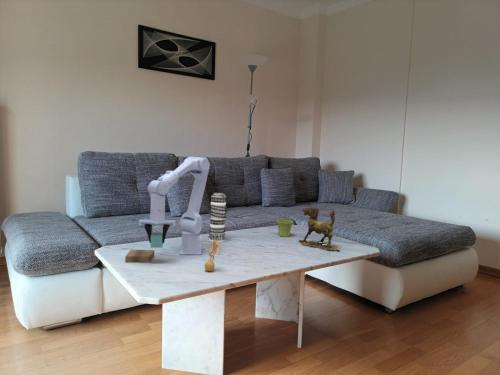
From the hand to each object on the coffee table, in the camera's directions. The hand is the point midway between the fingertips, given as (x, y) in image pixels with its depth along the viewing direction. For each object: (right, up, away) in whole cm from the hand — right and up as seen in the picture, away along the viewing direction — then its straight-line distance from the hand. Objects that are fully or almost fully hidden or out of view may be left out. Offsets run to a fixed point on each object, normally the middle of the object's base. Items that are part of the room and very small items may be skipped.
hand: (157, 242), depth 149 cm
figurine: (+75, -8, +40) cm, 85 cm away
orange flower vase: (+23, -10, -6) cm, 26 cm away
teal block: (0, -2, 0) cm, 2 cm away
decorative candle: (+21, -6, +43) cm, 48 cm away
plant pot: (+58, -6, +60) cm, 84 cm away
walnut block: (-8, -8, +4) cm, 12 cm away
